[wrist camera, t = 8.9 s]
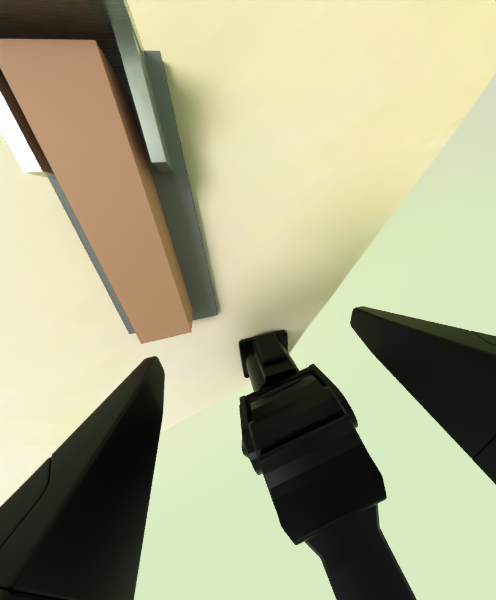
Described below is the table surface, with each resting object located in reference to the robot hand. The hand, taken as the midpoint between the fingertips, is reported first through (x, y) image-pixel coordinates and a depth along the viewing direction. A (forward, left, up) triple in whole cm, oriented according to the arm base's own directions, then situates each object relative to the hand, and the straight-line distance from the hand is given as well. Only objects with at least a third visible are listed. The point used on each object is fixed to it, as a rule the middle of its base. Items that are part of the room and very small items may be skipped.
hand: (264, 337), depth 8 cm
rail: (+4, +6, -11) cm, 14 cm away
